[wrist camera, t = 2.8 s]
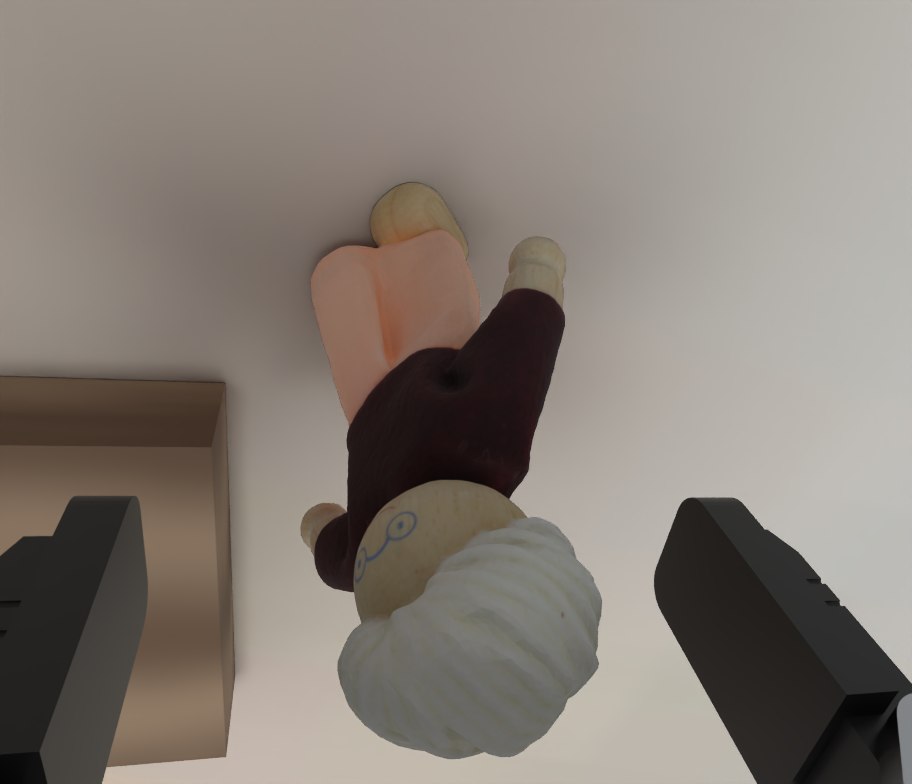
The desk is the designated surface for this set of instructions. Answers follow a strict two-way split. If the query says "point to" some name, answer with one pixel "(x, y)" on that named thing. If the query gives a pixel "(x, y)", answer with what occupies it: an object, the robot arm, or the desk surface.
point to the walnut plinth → (164, 531)
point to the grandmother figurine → (447, 490)
